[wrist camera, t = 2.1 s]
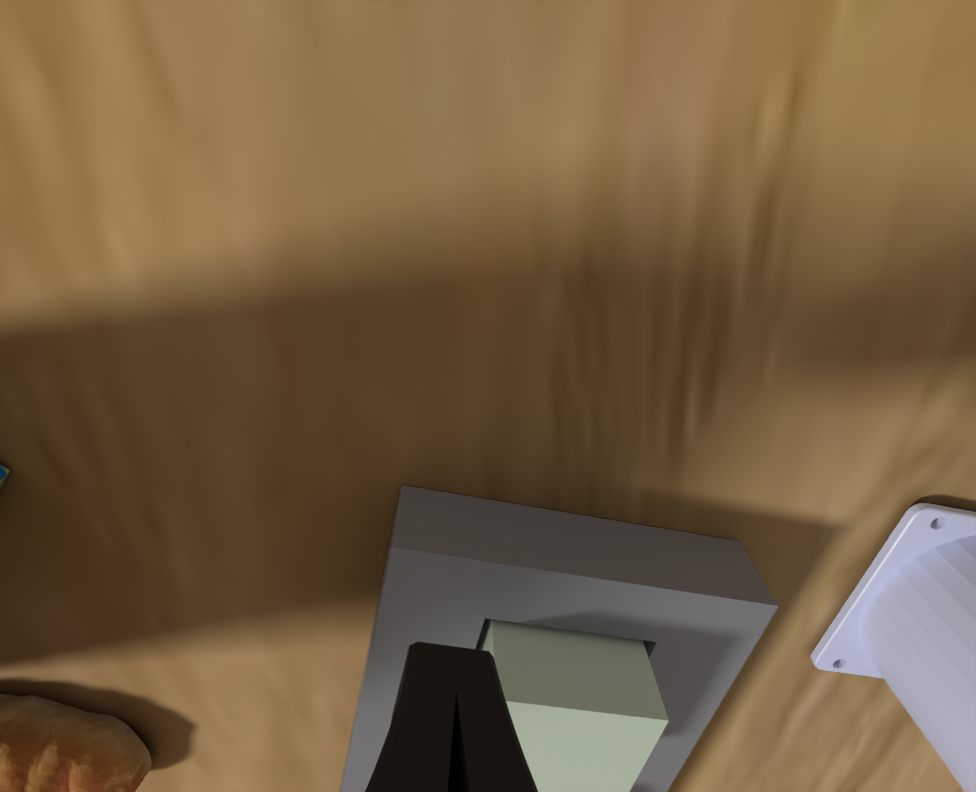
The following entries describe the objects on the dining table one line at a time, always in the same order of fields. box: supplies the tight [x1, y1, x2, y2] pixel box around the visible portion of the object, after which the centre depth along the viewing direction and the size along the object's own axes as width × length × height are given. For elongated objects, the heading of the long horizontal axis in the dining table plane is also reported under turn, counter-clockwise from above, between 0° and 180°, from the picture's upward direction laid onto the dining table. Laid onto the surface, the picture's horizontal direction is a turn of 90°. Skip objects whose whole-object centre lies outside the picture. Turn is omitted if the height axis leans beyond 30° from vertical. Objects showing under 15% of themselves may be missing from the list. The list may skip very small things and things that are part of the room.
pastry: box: [0, 694, 152, 792], centre depth 23 cm, size 9×7×4 cm
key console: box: [340, 485, 779, 792], centre depth 25 cm, size 12×26×3 cm, turn 167°
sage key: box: [476, 618, 669, 792], centre depth 19 cm, size 5×5×4 cm
